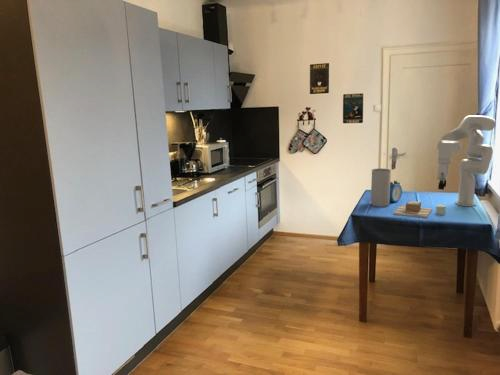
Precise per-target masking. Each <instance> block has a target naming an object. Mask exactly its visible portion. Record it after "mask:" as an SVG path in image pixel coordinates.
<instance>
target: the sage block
mask: <svg viewBox="0 0 500 375" xmlns="http://www.w3.org/2000/svg"><path fill="white" fill-rule="evenodd" d="M446 208H447V206H446V204H436V206H435V209H436V210H435V214H436V215H444V216H445V214H446V210H447V209H446Z"/></svg>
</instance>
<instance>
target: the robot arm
mask: <svg viewBox="0 0 500 375" xmlns="http://www.w3.org/2000/svg"><path fill="white" fill-rule="evenodd" d="M495 127H496V120H495V118H493V117H490V116H487V115H466V116H465V117H464V118H463V119H462V120H461V122H459V125H457V127H456V128H455V129H453V130H449V132H446V133H445V134H444V135H442V137H440V140H438V142H437V146H436V149H437V150H438V154H437V164H438V168H437V169H438V171H437V180H438V188H437V189H438V190H443V191H444V189H445V188H446V186H447V179H448V175H449V165H452V155H453V154H457V153H459V152H461V151H462V149H463V144H462V142H461V141H459V140H462V139H467V137H469V138H468V139H469V140H468V143H467V146H466V150H465V156H466V157H467V158H464V159H461V161H459V167H458V168H459V184H458V185H459V186H458V196H457V197H458V198H457V200H456V201H455V204H456V205H457V206H463V207H475V206H476V205H477V203H476V202H474V201H475V189H476V177H475V176H474V175H480V176H481V175H485V174H487V172H488V170H489V168H490V164H491V161H492V157H493V153H494V152H493V151H494V150H493V147H492V146H491V145H489V144H484V140H485V137H484V135H483V133H482V131H485V132H486V131H492V130H494V129H495Z"/></svg>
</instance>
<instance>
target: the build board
mask: <svg viewBox="0 0 500 375" xmlns="http://www.w3.org/2000/svg"><path fill="white" fill-rule="evenodd" d="M432 211H433V208H430V207H422V201H421V202H420V201H411V200H408V201H407V202H406V203H405V205H399V206H398V207H397V209H396V210H394V212H393V215H397V216H398V215H399V216H407V217H416V218H423V219H424V218H425V219H427V218H428V217H429V216H430V214H431V212H432Z"/></svg>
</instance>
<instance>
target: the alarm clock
mask: <svg viewBox="0 0 500 375" xmlns="http://www.w3.org/2000/svg"><path fill="white" fill-rule="evenodd" d="M400 183H401V182H399V180H394V181H390V199H389V202H392V203H398V202H399V201H400V200H401V198H402V194H403V189H402V186H401V184H400Z"/></svg>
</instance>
